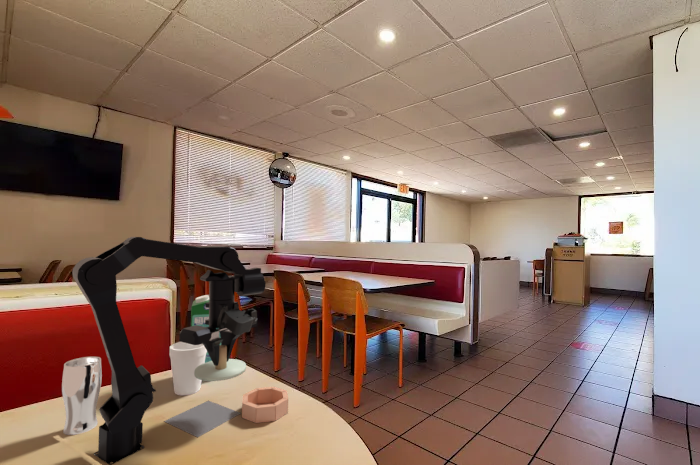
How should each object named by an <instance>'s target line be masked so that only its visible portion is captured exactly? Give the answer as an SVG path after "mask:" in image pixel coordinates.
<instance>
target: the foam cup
mask: <svg viewBox="0 0 700 465" xmlns="http://www.w3.org/2000/svg"><path fill="white" fill-rule="evenodd" d="M206 353H207V350H206V348H205V347H204V345H203V344H199V345H192V344H188V343H184V342H180V341H177V342H174V343H173V344H172V343H171V345H170V346H169V358H170V366H171V373H172V382H173V392H174V394H175V395H178V396H191V395H193V394H196V393H197V392H199V391H200V389H201V387H202V380H200V379H197V378H196V377H195V375H194V371H195V369H196V368H197V367H198V366H199V365H201V364H203V363H205V357H206Z"/></svg>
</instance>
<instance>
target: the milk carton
mask: <svg viewBox="0 0 700 465" xmlns="http://www.w3.org/2000/svg"><path fill="white" fill-rule="evenodd" d="M208 302H209V294H205V295H201V296H198V297H195V300H193V302H192V305H191V308H190V309H191V310H190V312H191V314H190V315H191V316H190V317H191V318H190V327H191V326H195V325H197V326H202V327H209V325H206V324H205V320H208V319H209V308H207V307H205V303H208ZM216 329H218V328H216ZM219 338H221V337H220V332H219ZM220 345H221V343H220ZM209 361H212V360H211V358H210V356H209V354H208V352H207V353H206V357H205V363H206V362H209ZM202 381H204V380H202ZM202 381H201V382H202Z"/></svg>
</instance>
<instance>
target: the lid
mask: <svg viewBox="0 0 700 465" xmlns="http://www.w3.org/2000/svg"><path fill="white" fill-rule="evenodd" d="M246 370H247V363H246V362H245V361H243V360H240V359H237V358H235V359H234V358H229V360H228V361H227V346H226V345H220V346H219V363H218V365H217V366H215V365H214V364H213V362H212V361H209V362H206V363H203V364H201V365H199V366H198V367H197V368H196V369H195V371H194V375H195V377H196V378H197V379H200V380H203V381H204V382H205V381H206V382H220V381H226V380H231V379H233V378H236V377H237V378H238V377H239V376H242V375H243V373H245V372H246Z"/></svg>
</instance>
